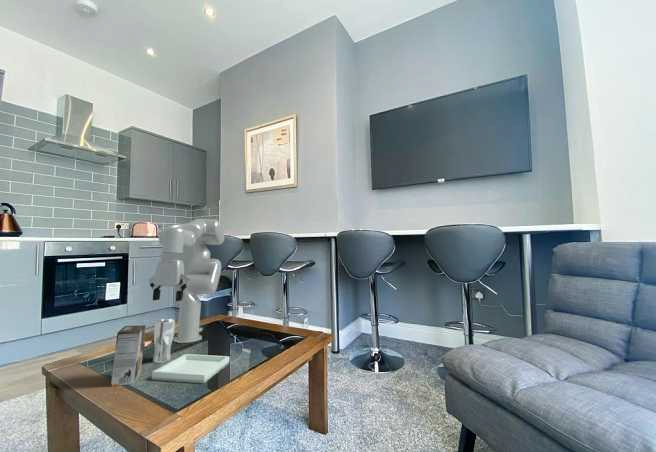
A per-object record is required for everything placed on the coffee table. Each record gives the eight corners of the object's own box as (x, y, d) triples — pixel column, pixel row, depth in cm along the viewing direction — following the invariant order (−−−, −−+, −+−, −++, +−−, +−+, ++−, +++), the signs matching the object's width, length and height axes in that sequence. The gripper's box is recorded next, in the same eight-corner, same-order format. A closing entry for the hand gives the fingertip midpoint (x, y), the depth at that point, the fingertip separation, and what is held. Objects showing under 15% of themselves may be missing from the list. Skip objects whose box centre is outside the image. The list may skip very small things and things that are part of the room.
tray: (185, 360, 107) (185, 353, 108) (229, 363, 105) (229, 356, 106) (151, 379, 89) (152, 371, 90) (204, 383, 88) (204, 375, 88)
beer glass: (162, 364, 103) (166, 322, 105) (146, 362, 104) (151, 321, 106) (175, 358, 110) (179, 319, 112) (161, 356, 111) (165, 318, 113)
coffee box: (118, 375, 92) (124, 325, 94) (141, 373, 95) (146, 324, 97) (109, 387, 84) (116, 332, 86) (134, 383, 86) (140, 330, 88)
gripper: (145, 256, 109) (140, 300, 107) (186, 257, 108) (182, 302, 105) (158, 257, 117) (154, 298, 114) (197, 258, 115) (193, 300, 113)
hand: (167, 300), depth 110 cm, fingers open, 9 cm apart
